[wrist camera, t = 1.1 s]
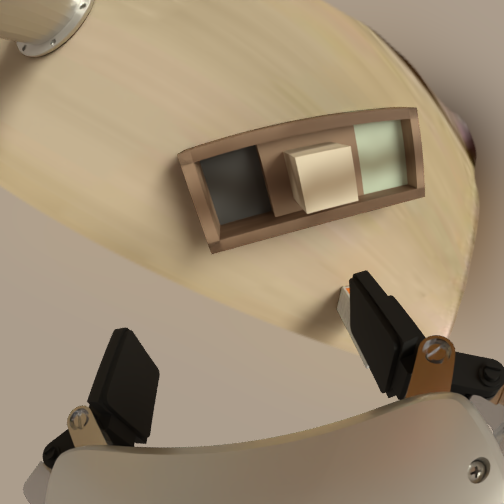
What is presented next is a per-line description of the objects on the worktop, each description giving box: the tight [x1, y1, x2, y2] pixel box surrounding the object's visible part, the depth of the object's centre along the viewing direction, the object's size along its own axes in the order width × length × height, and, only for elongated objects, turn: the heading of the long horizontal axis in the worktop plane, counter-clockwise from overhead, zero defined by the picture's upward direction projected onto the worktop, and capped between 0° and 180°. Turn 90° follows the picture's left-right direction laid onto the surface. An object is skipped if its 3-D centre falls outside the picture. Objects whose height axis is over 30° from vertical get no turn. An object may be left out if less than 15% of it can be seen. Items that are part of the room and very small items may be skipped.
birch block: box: [283, 142, 358, 214], centre depth 24 cm, size 5×5×5 cm
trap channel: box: [177, 107, 425, 254], centre depth 26 cm, size 10×25×4 cm, turn 105°
